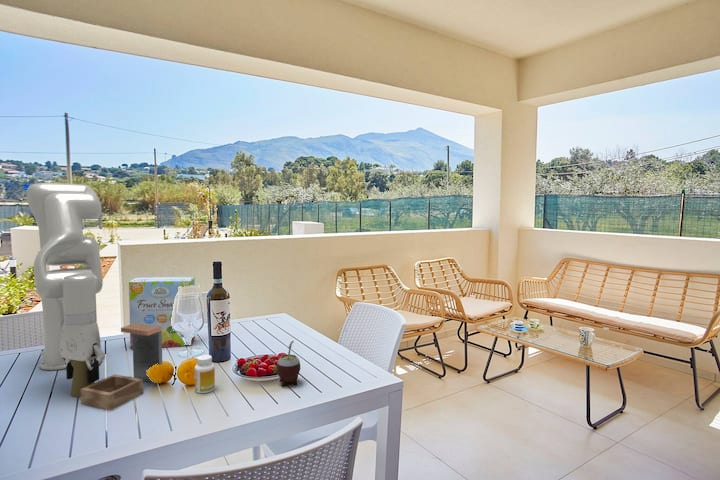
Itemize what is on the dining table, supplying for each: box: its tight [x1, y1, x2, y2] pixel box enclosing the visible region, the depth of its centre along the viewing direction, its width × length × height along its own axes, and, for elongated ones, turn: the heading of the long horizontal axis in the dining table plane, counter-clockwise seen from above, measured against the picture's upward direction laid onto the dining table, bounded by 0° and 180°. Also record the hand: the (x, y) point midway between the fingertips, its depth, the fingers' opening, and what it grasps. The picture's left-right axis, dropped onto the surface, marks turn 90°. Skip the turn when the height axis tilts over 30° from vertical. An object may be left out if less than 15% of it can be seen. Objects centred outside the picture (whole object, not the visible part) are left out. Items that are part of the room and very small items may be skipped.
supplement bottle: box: [194, 354, 216, 394], centre depth 117 cm, size 5×5×10 cm
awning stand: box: [120, 323, 163, 384], centre depth 120 cm, size 10×5×17 cm, turn 72°
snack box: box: [128, 276, 196, 350], centre depth 153 cm, size 22×9×26 cm, turn 104°
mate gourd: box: [276, 340, 301, 388], centre depth 121 cm, size 8×8×15 cm
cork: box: [70, 356, 96, 398], centre depth 114 cm, size 6×6×11 cm
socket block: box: [80, 373, 144, 411], centre depth 111 cm, size 10×10×4 cm
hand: (83, 379), depth 114 cm, fingers open, 7 cm apart
